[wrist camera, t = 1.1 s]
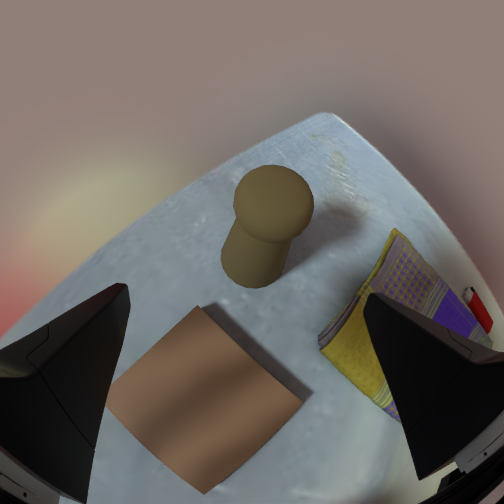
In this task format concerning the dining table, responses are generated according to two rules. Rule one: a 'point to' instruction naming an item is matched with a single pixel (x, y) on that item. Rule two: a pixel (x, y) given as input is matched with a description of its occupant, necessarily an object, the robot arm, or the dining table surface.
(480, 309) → the lighter
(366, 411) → the dining table surface
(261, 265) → the olive brown peg figure
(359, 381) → the dish towel
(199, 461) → the walnut board
